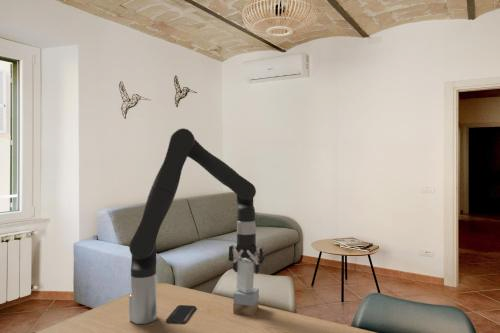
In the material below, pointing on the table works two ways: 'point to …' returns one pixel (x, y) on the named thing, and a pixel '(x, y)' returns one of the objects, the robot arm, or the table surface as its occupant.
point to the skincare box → (245, 275)
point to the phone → (181, 314)
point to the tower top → (246, 297)
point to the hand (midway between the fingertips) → (246, 272)
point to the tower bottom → (245, 309)
